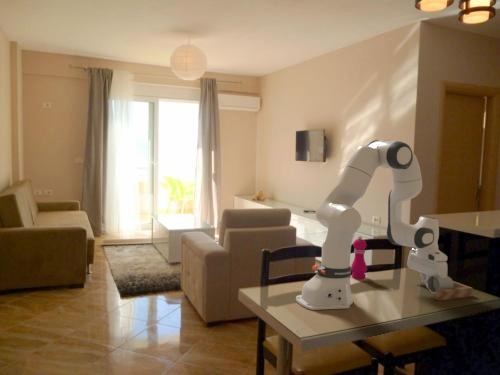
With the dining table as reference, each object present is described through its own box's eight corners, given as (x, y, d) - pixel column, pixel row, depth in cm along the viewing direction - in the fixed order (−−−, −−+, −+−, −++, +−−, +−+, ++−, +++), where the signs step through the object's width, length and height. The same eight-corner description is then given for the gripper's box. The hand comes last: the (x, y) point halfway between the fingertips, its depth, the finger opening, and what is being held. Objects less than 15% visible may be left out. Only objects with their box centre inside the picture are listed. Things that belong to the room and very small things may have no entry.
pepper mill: (369, 278, 193) (371, 236, 191) (356, 280, 190) (358, 237, 188) (360, 274, 199) (361, 234, 198) (347, 276, 197) (349, 234, 195)
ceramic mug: (455, 294, 172) (455, 276, 171) (439, 296, 169) (440, 278, 169) (435, 287, 182) (436, 270, 181) (421, 288, 179) (421, 271, 179)
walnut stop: (438, 300, 164) (438, 292, 164) (416, 291, 175) (417, 283, 175) (472, 296, 170) (472, 287, 170) (449, 287, 181) (449, 279, 181)
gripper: (404, 248, 189) (403, 277, 190) (439, 258, 170) (437, 291, 171) (415, 247, 191) (414, 276, 192) (450, 257, 172) (449, 289, 173)
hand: (425, 283), depth 181 cm, fingers closed
